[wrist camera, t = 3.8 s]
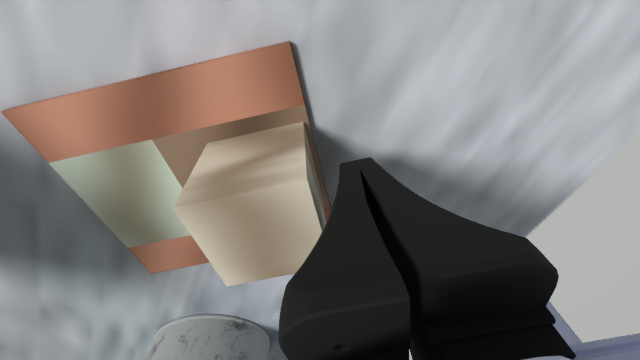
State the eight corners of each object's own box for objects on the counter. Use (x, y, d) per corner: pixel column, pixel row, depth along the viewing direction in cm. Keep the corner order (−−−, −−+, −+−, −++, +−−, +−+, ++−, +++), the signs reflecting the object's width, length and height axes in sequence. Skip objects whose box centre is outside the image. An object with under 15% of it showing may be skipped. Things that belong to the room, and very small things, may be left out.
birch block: (303, 121, 12) (307, 179, 9) (322, 197, 15) (331, 266, 11) (207, 143, 13) (172, 207, 9) (242, 214, 15) (226, 286, 12)
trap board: (289, 40, 11) (289, 42, 11) (336, 233, 17) (336, 236, 17) (7, 108, 11) (0, 111, 11) (153, 269, 18) (151, 273, 18)
